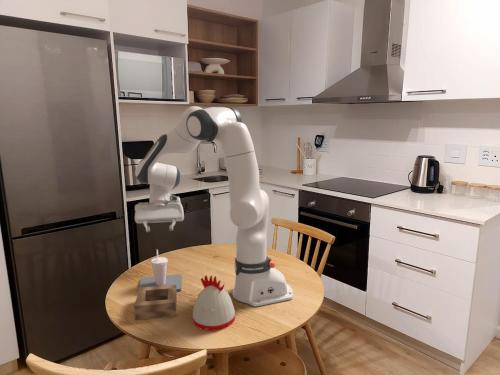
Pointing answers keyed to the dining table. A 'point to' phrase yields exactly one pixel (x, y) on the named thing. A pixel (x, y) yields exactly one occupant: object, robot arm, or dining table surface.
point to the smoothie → (159, 269)
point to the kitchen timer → (213, 307)
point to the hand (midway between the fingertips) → (159, 230)
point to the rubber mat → (169, 281)
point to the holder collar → (156, 302)
